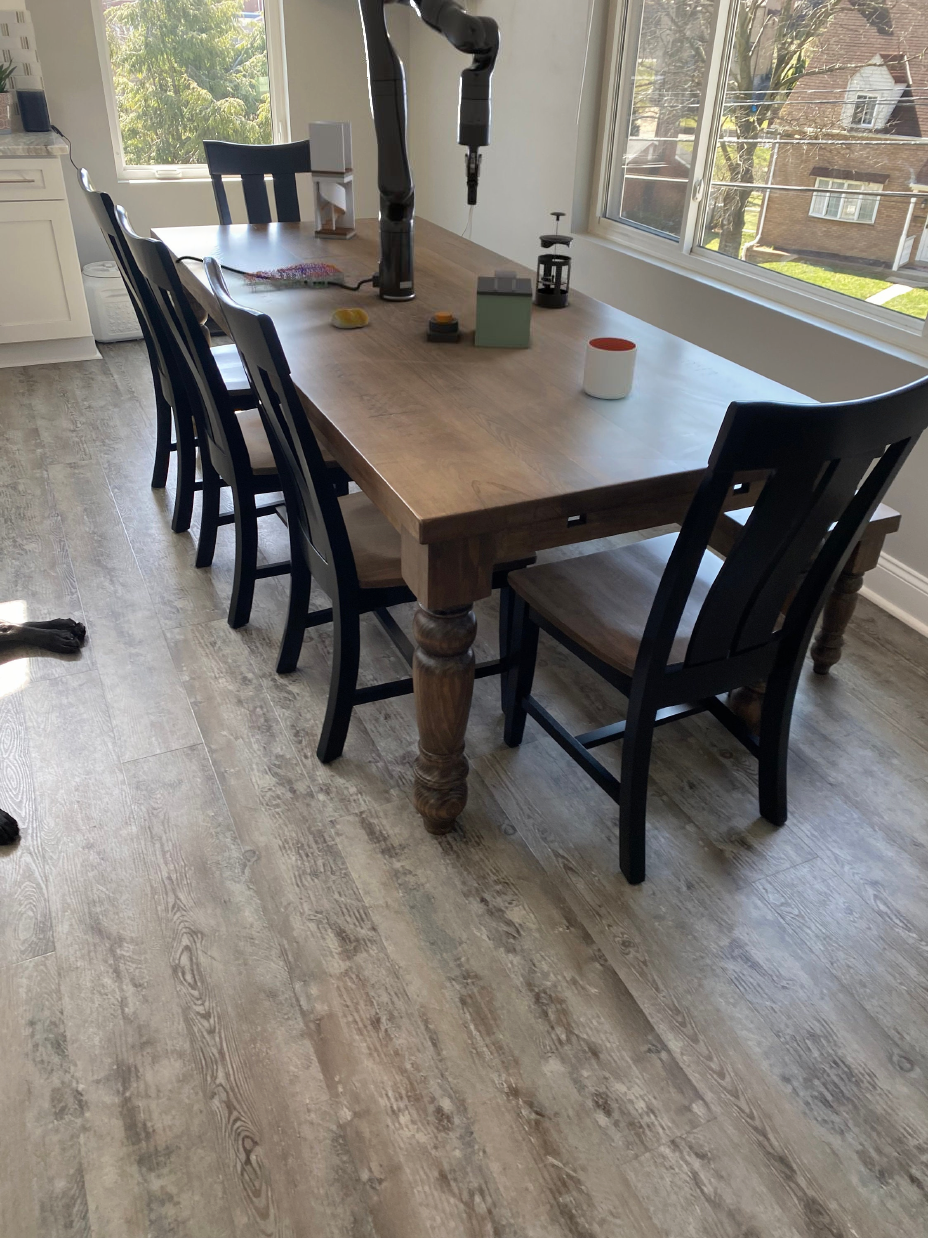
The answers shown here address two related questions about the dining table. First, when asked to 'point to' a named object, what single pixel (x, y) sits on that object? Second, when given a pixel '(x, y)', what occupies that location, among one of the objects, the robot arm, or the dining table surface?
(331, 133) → the white tower
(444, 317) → the button
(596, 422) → the dining table surface
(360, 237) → the dining table surface
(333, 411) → the dining table surface
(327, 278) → the multicoloured piece
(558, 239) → the french press
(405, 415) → the dining table surface
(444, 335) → the block
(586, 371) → the cup
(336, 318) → the bread roll
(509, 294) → the lid
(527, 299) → the sage green box
